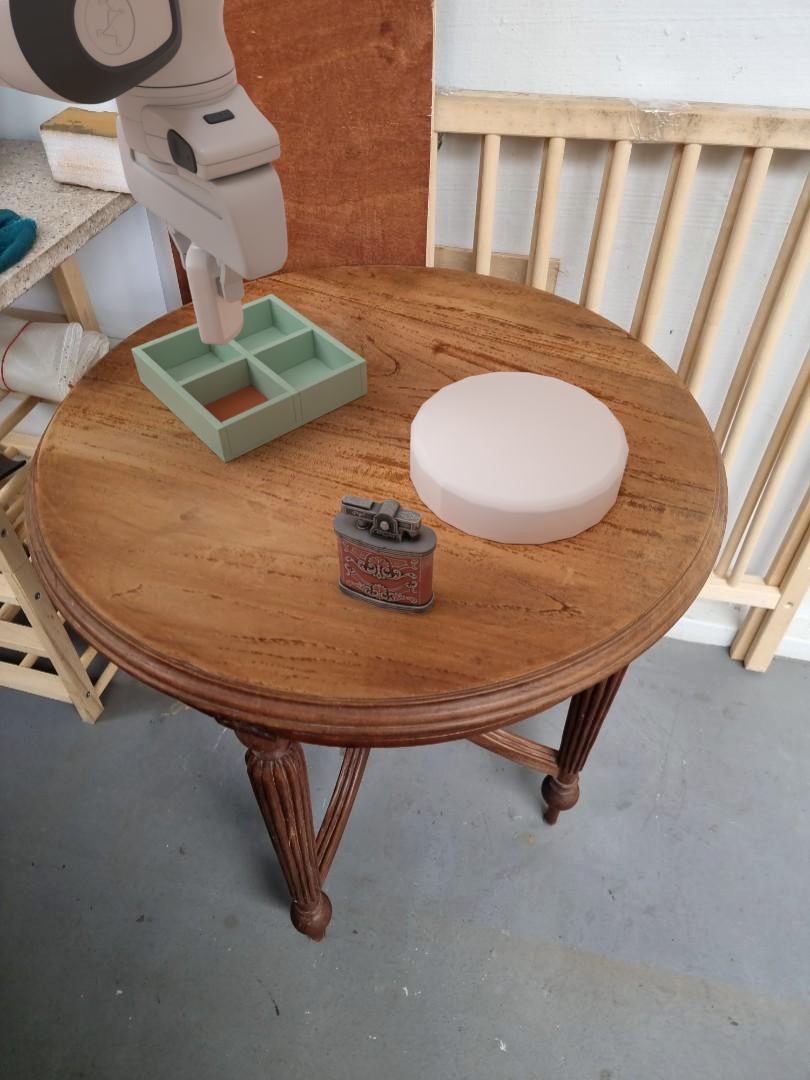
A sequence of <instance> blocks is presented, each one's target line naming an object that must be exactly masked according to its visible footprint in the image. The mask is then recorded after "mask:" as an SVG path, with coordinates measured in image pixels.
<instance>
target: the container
mask: <svg viewBox="0 0 810 1080" xmlns="http://www.w3.org/2000/svg"><path fill="white" fill-rule="evenodd" d="M409 440H410V443H409V478H410V480H411V482H412V485H413V487H414V489H415V491H416V494H417V496H418V498H419V500H420V501H421V502H422V503H423V504H424V505H425V506H426V507H427V508H428V509H429V510H430V511H431V512H432V513H433V514H434V515H435V516H436V517H437V518H438V519H439V520H441V521H442V522H444V523H447V524H448V525H449V526H452V527H454V528H456V529H458V530H459V531H461V532H463V533H465V534H467V535H468V536H472V537H476V538H480V539H483V540H489V541H492V542H496V543H500V544H504V545H505V544H509V545H511V544H512V545H513V544H514V545H543V544H547V543H552V542H557V541H560V540H565V539H569V538H574V537H575V536H577V535H579V534H581V533H582V532H585V531H586V530H588V529H590V528H591V527H593V526H595V525H597V524H599V523H600V522H601V521H602V519H603V518H604V517H605V516H606V515H607V514H608V512H609V511H610V510H611V509H612V508H613V506H614V505H615V504H616V502H617V499H618V495H619V491H620V488H621V484H622V480H623V477H624V474H625V469H626V466H627V462H628V458H629V453H630V448H629V443H628V440H627V437H626V433H625V429H624V427H623V425H622V424H621V422H620V421H619V420H618V418H617V417H616V415H614V413H613V412H612V411H611V409H610V408H609V407H608V406H607V405H606V404H605V403H604V402H602V401H601V400H599V399H598V398H597V397H595V396H593V394H591V393H589V392H588V391H586V390H585V389H584V388H582V387H579V386H576V385H574V384H572V383H569V382H567V381H564V380H563V379H559V378H557V377H553V376H547V375H544V374H543V375H542V374H538V373H532V372H529V371H528V372H527V371H494V372H487V373H482V374H475V375H470V376H467V377H465V378H462V379H460V380H458V381H455V382H452V383H451V384H448V385H446V386H443V387H441V389H439V390H438V391H436V393H434V394H433V395H432V396H431V397H429V398H428V399H427V400H426V401H424V402H423V403H422V404H421V406H420V407H419V409H418V411H417V413H416V414H415V416H414V419H413V420H412V422H411V424H410V439H409Z"/></svg>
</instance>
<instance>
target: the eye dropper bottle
mask: <svg viewBox="0 0 810 1080" xmlns="http://www.w3.org/2000/svg"><path fill="white" fill-rule="evenodd" d="M191 242H192V243H191V245H190V247H189V249H188V251H187V255H186V270H185V272H186V276H187V282H188V286H189V291H190V295H191V300H192V305H193V309H194V313H195V318H196V323H197V324H198V328H199V333H200V337H201V341H202V342H203V343H205V344H212V345H225V344H227V343H229V342H230V341H232V340H233V339H234V338H235V337H236V336H237V335H238V334H239V333H240V331H241V329H242V327H243V323H244V315H243V309H242V305H243V303H242V299H241V300H238V301H235V302H233V303H229V302H227V301H226V300H224V299H223V298H222V297H221V296H220V295H219V294H218V288H217V284H216V278H218V277H220V273H221V267H220V266H218V265H217V262H216V258H215V257H214V256H213V255H211V254H210V253H208V252H207V251H206V250H204V249H203V248H201V247H200V246H199V245H197V244H196V243H194V242H193V241H192V240H191Z"/></svg>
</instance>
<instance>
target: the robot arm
mask: <svg viewBox="0 0 810 1080" xmlns="http://www.w3.org/2000/svg"><path fill="white" fill-rule="evenodd" d="M224 5H225V0H0V86H1V87H4V88H9V89H12V90H15V91H18V92H19V91H20V92H23V93H27V94H30V95H35V96H40V97H43V98H47V99H50V100H53V101H58V102H63V103H66V104H74V105H99V104H100V105H101V104H104V103H107V102H110V101H112V100H114V99H115V103H116V107H117V112H118V115H117V116H116V119H115V130H116V137H117V144H118V150H119V154H120V160H121V165H122V169H123V174H124V178H125V183H126V186H127V188H128V190H129V192H130V194H131V196H132V198H133V200H134V201H136V202H137V203H138V204H139V205H141V206H142V207H143V208H145V209H146V210H148V211H149V212H151V213H152V214H154V215H155V216H156V217H158V218H159V219H161V220H162V221H163V222H165V223H166V228H167V231H168V233H169V235H170V238H171V239H172V241H173V243H174V245H175V247H176V250H177V251H178V252H179V255H180V261H181V265H182V268H183V269H184V270H185V271H186V255H187V251H188V249H189V247H190V245H191V243H192V242H191V240H192V241H193V242H194V243H196V244H197V245H199V246H200V247H201V248H203V249H204V250H206V251H207V252H208V253H210V254H211V255H213V256H214V257H215V258H216V262H217V265H218V266H220V267H221V273H220V277H218V278H216V284H217V288H218V294H219V295H220V296H221V297H222V298H223V299H224V300H226V301H227V302H229V303H233V302H235V301H238V300H241V301H242V299H244V297H245V295H246V292H245V285H244V279H245V280H247V281H253V280H257V279H260V278H262V277H265V276H268V275H270V274H273V273H275V272H277V271H279V270H281V269H283V267H284V265H285V263H286V262H287V259H288V255H289V243H288V241H289V240H288V229H287V219H286V209H285V200H284V194H283V193H284V192H283V189H282V184H281V180H280V178H279V175H278V173H277V170H276V168H275V167H274V166H273V164H272V163H271V162H275V161H277V160H279V159H280V157H281V142H280V141H281V139H280V136H279V133H278V131H277V129H276V127H274V125H273V124H272V123H271V122H270V121H269V120H268V119H267V118H266V117H265V115H263V113H262V112H261V111H260V110H259V109H258V107H257V106H256V105H255V103H254V102H253V101H252V100H251V98H250V97H249V95H248V93H247V91H246V90H245V88H244V87H243V86H242V85H241V84H240V83H238V78H237V77H238V76H237V69H236V64H235V63H236V62H235V57H234V54H233V52H232V49H231V46H230V44H229V42H228V38H227V35H226V32H225V26H224Z"/></svg>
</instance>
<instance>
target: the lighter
mask: <svg viewBox="0 0 810 1080" xmlns="http://www.w3.org/2000/svg"><path fill="white" fill-rule="evenodd" d="M339 503H340V511H338V512H337V513H336V514H335V516H334V517H333V519H332V520H333V521H332V522H333V532H334V535H335V537H336V541H337V552H338V564H339V574H338V588H339V590H340V592H341V594H343V595H345V596H347V597H349V598H351V599H354V600H356V601H357V602H360V603H362V604H365V605H368V606H371V607H374V608H377V609H380V610H384V611H389V612H395V613H400V614H401V613H402V614H409V615H424V614H426V613H428V612H429V611H431V609H432V607H433V606H434V602H435V592H434V589H433V580H434V579H433V578H434V557H435V555H434V554H435V551H436V548H437V541H438V538H437V533H436V532H435V530H434V529H432V528H431V527H429V526H427V525H424V524H423V523H422V513H421V512H420V511H417V510H413V509H409V508H406V507H405V508H404V507H403V505H401V503H400V502H399V501H397V500H396V499H392V498H386V499H385V500H384V501H381V502H380V501H376V500H374V499H370V498H366V497H361V496H358V495H354V494H345V495H343V496H342V497H341V499H340V502H339Z"/></svg>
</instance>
